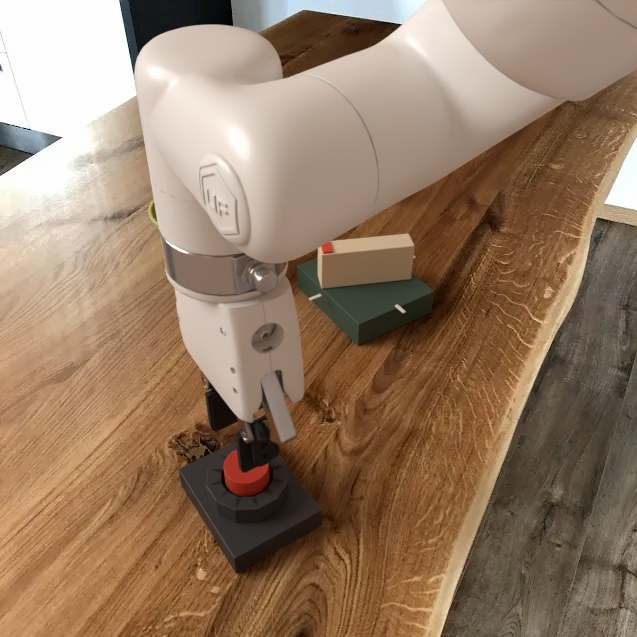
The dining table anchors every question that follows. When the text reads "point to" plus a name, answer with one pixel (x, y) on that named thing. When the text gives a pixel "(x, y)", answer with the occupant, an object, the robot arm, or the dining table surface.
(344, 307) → the dial base
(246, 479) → the button
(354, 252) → the beige rectangular block
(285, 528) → the control block
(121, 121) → the dining table surface
